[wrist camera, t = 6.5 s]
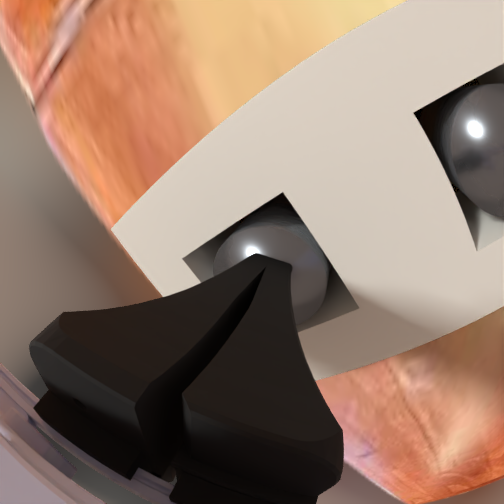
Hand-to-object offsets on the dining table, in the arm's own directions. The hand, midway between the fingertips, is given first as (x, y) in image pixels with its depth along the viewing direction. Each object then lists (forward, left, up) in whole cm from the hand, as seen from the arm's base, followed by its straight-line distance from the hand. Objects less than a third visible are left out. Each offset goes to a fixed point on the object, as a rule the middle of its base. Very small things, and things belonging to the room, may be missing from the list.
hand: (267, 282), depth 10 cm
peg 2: (0, -9, -4) cm, 10 cm away
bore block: (0, -5, -5) cm, 7 cm away
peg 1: (0, 0, -4) cm, 4 cm away
